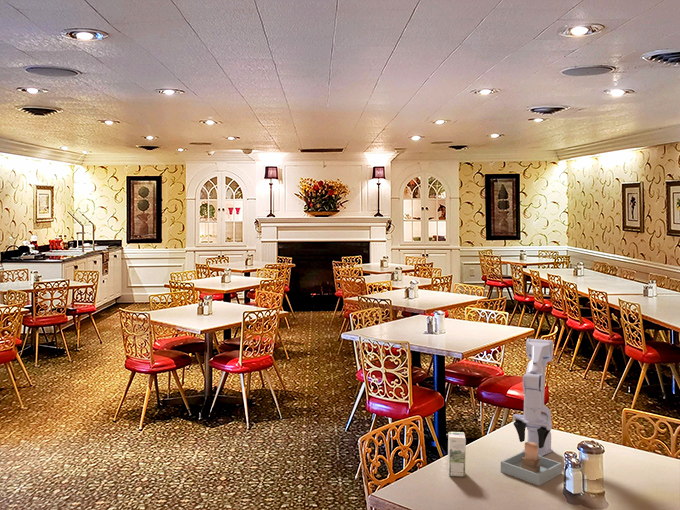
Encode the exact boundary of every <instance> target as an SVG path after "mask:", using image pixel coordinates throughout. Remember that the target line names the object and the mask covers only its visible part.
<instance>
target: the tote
mask: <svg viewBox="0 0 680 510" xmlns="http://www.w3.org/2000/svg"><path fill="white" fill-rule="evenodd" d="M524 454H525V451H523V450H522V451H521V452H519V453H516V454H514V455H512V456H510V457H507V458H506V459H505V458H504V459H503V460H500V473H502V474H505V475H509V476H510V477H513V476H514V478H516V479H519V478H520V479H519V480H521V479H522V481H524V482H527V483H531V484H532V483H533V485H535V486H538V487H540V486H541V485H543V484H545V483H547V482H549V481H550V480H552V479H554V478H556V477H558V476H560V475H562V470H563V469H562V467H563V465H562V463H563V462H558V461H556V460H553V459H550V458H547V457H544V456H542V457H541V456H538V458H540V471H539V472H537V473H534V472H531V471H528V470H526V469H523V468H522V457H524Z"/></svg>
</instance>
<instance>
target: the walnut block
mask: <svg viewBox="0 0 680 510" xmlns="http://www.w3.org/2000/svg"><path fill="white" fill-rule="evenodd" d="M522 468H523V469H526V470H528V471H531V472H534V473H537V472H539V471H540V458H538V460H535V461H532V460H527V459H525V458H524V457H522Z"/></svg>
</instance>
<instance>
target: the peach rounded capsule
mask: <svg viewBox="0 0 680 510" xmlns="http://www.w3.org/2000/svg"><path fill="white" fill-rule="evenodd" d="M524 449H525V454H524V458H525V459H527V460H532V461H535V460H538V444H537V443H534V442H527V441H526V442H525V443H524Z"/></svg>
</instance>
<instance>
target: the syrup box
mask: <svg viewBox="0 0 680 510" xmlns="http://www.w3.org/2000/svg"><path fill="white" fill-rule="evenodd" d="M447 433H448V434H447V436H448V437H447V439H448V440H447V471H448V476H449V477H457V478H465V477H466V453H467V452H466V449H467V446H466V445H467V439H466V436H465V435H466V434H465V432H462V431H461V432H460V431H449V432H447Z"/></svg>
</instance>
